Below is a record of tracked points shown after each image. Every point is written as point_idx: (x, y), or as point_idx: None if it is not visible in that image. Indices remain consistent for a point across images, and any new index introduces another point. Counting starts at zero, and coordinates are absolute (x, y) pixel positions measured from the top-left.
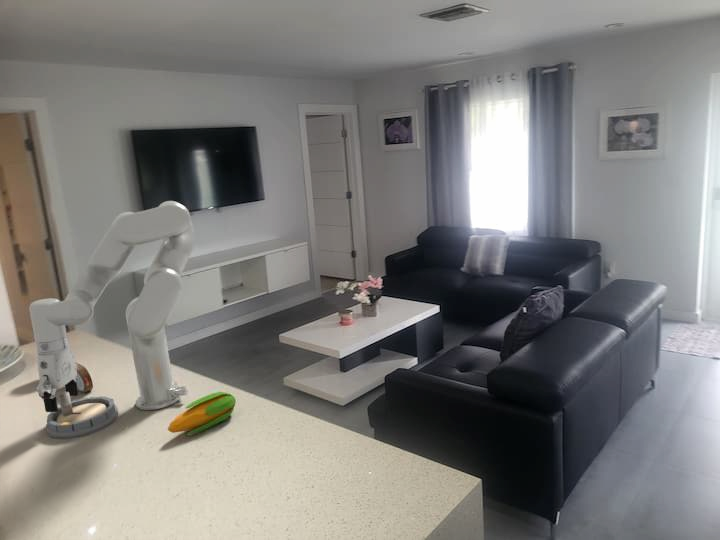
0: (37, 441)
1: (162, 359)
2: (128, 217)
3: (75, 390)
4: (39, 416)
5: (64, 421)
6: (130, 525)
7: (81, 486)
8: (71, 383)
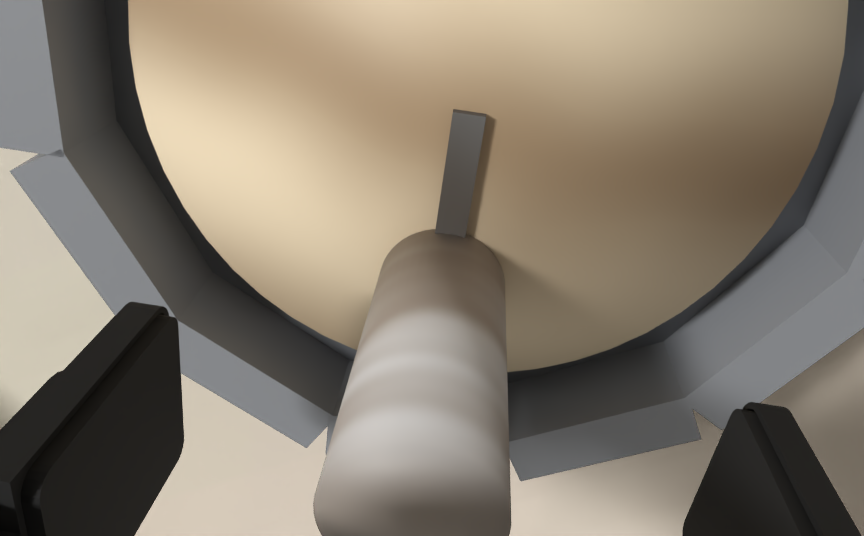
0: (798, 391)
1: None
2: None
3: (130, 377)
4: (253, 531)
5: (675, 249)
6: None
7: None
8: None
